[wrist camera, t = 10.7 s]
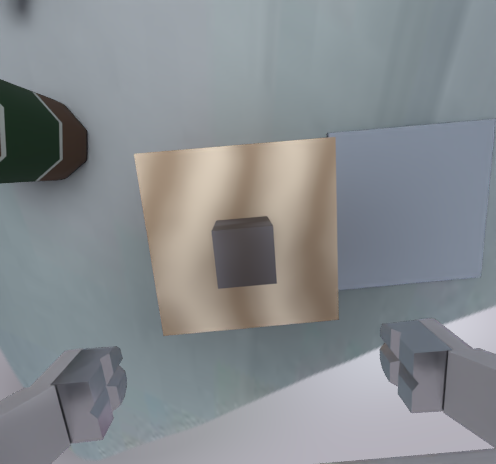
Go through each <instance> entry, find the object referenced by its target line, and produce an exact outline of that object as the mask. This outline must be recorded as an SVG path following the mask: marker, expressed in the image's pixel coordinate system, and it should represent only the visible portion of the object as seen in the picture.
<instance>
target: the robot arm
mask: <svg viewBox="0 0 496 464" xmlns="http://www.w3.org/2000/svg"><path fill="white" fill-rule="evenodd" d="M380 337H381V338H382V339H383V340H384V342H385V343H384V344H383V345H382V347H381V348H380V361H381V365H382V369H383V371H384V373H385V375H386V377H387V379H388V380H389V381H390V382H391V383H393V384H394V385H396V386H398V395H399V396H400V398H401V399H402V400H403V402H404V403H405V405H406V406H407V408H408V409H409V410H410V412H411V413H421V412H438V411H444V413H445V414H446V415H448V416H449V417H450V418H452V419H453V420H455V421H456V422H458V423H459V424H461V425H462V426H464V427H465V428H467V429H468V430H470V431H471V432H473V433H474V434H475V435H477V436H478V437H480V438H481V439H483V440H484V441H486V442H487V443H489V444H490V445H492V446H493V447H495V448H494V449H483V450H472V451H462V452H450V453H438V454H427V455H415V456H404V457H391V458H381V459H380V458H379V459H368V460H356V461H344V462H332V463H321V464H496V354H494V353H491V352H488V351H485V350H482V349H480V348H476V349H473V348H472V347H470V346H469V345H468V344H466V343H465V342H464V341H463V340H461V339H460V338H459V337H458V336H456V335H455V334H454V333H453V332H451V331H450V330H449V329H447V328H446V327H445V326H443V325H442V324H441V323H440V322H438V321H437V320H436V319H433V318H426V319H418V320H411V321H402V322H393V323H384V324H382V325H381V328H380ZM122 359H123V358H122V354H121V350H120V348H118V347H117V346H113V347H98V348H85V349H84V348H81V349H72V350H67V351H65V352H64V353H63V354H62V355H61V356H60V357H59V358H58V359H57V360H56V361H55V362H54V363H53V364H52V365H51V366H50V367H49V368H48V369H47V370H46V371H45V372H44V373H43V374H42V375H41V376H40V377H39V378H38V379H37V380H36V381H35V382H34V383H33V384H32V385H31V386H30V387H28V388H23V389H21V390H19V391H17V392H15V393H13V394H12V395H10V396H8V397H6V398H4V399H2V400H1V401H0V464H51V463H52V462H53V461H54V460H55V459H57V458H58V457H59V456H60V455H61V454H62V453H63V452H64V451H65V450H66V449H67V448H68V447H70V445H71V444H72V443H80V442H89V441H97V440H103V438H104V436H105V434H106V432H107V431H108V429H109V427H110V425H111V423H112V421H113V419H114V417H113V413H112V412H113V411H114V410H115V409H117V408H118V407H119V406H120V405H121V403H122V401H123V399H124V397H125V393H126V388H127V377H126V372H125V370H124V369H123V368H121V367H120V366H119V364H120V363H121V361H122Z"/></svg>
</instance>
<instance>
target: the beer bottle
mask: <svg viewBox="0 0 496 464" xmlns="http://www.w3.org/2000/svg"><path fill="white" fill-rule="evenodd" d="M86 153H87V131H86V129H85V128H84V127H83V126H82V124H81V123H80V122H79V121H78V120H77V119H76V118H75V116H74V115H73V114H72V113H71V112H70V111H69V110H68V108H67V107H66V106H65V105H64V104H62V103H59V102H57V101H55V100H53V99H51V98H48V97H45V96H43V95H40V94H37V93H35V92H32V91H30V90H27V89H24V88H22V87H19V86H16V85H14V84H11V83H9V82H6V81H3V80H1V79H0V183H14V182H32V181H50V180H59V179H65V178H67V177H68V176H69V175H70V174H71V173H72V172H73V171H75V170H76V169H77V168H78V167H79V166H80V165H82V164H83V163H84V162H85V161H86Z"/></svg>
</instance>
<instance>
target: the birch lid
mask: <svg viewBox="0 0 496 464" xmlns="http://www.w3.org/2000/svg"><path fill="white" fill-rule="evenodd" d="M134 157H135V163H136V170H137V176H138V182H139V188H140V194H141V200H142V206H143V213H144V219H145V225H146V231H147V237H148V243H149V249H150V255H151V262H152V268H153V274H154V280H155V286H156V292H157V298H158V304H159V311H160V317H161V323H162V329H163V335H164V336H168V335H179V334H190V333H200V332H211V331H222V330H233V329H244V328H254V327H265V326H276V325H287V324H298V323H308V322H319V321H330V320H339V311H338V253H337V194H336V137H328V138H316V139H304V140H292V141H281V142H269V143H257V144H245V145H233V146H221V147H209V148H198V149H186V150H174V151H162V152H150V153H138V154H134Z"/></svg>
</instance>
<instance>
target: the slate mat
mask: <svg viewBox="0 0 496 464" xmlns="http://www.w3.org/2000/svg"><path fill="white" fill-rule="evenodd" d="M495 123H496V119H485V120H474V121H462V122H450V123H439V124H427V125H415V126H403V127H392V128H380V129H368V130H357V131H345V132H333V133H327V138H328V137H336V194H337V253H338V290H346V289H357V288H368V287H379V286H389V285H400V284H411V283H422V282H433V281H443V280H454V279H465V278H476V277H481V270H482V260H483V249H484V239H485V228H486V218H487V207H488V196H489V186H490V175H491V165H492V154H493V144H494V133H495Z"/></svg>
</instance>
